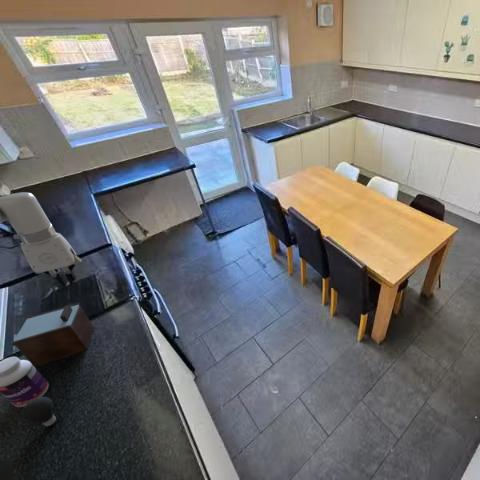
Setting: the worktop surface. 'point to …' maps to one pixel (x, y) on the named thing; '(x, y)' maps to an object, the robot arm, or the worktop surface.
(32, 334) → the glass lid
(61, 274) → the robot arm
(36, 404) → the light bulb
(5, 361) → the pill bottle
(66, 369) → the worktop surface
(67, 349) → the display box
